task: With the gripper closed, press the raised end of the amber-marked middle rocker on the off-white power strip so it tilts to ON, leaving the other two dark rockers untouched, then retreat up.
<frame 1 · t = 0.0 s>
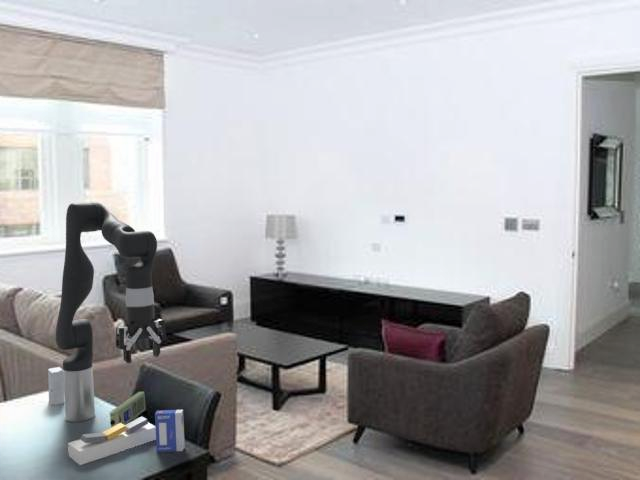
hand: (142, 359, 176), 29 cm above the table, fingers open, 8 cm apart
skincare box: (57, 402, 226), on the table
rocker 2: (114, 431, 185), point 6 cm above the table, hinge at 12.0°
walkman: (170, 450, 185), on the table
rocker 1: (93, 437, 181), point 6 cm above the table, hinge at -12.0°
handheld radio: (124, 424, 206), on the table
rocker 3: (136, 424, 190), point 6 cm above the table, hinge at 12.0°
power strip: (114, 447, 187), on the table
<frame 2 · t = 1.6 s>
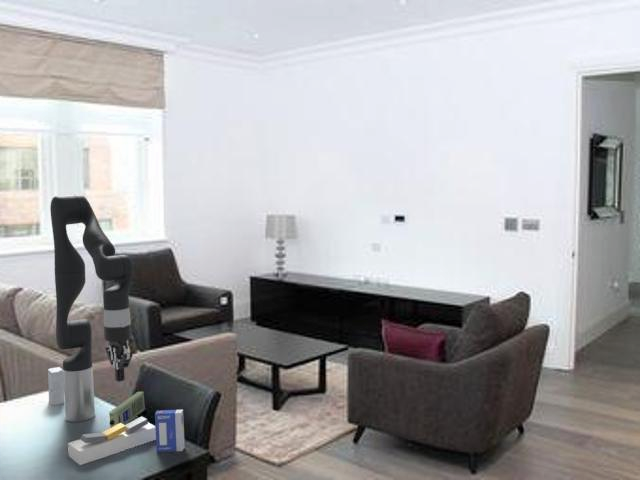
hand: (120, 380, 186), 20 cm above the table, fingers closed
nothing on the table moved.
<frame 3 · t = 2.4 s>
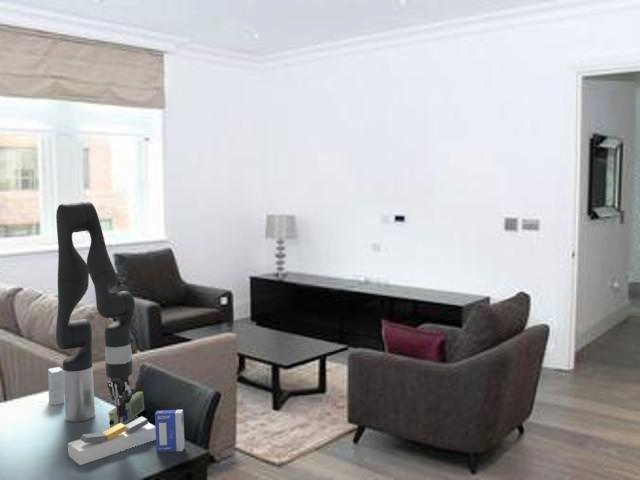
hand: (121, 416, 186), 10 cm above the table, fingers closed
nothing on the table moved.
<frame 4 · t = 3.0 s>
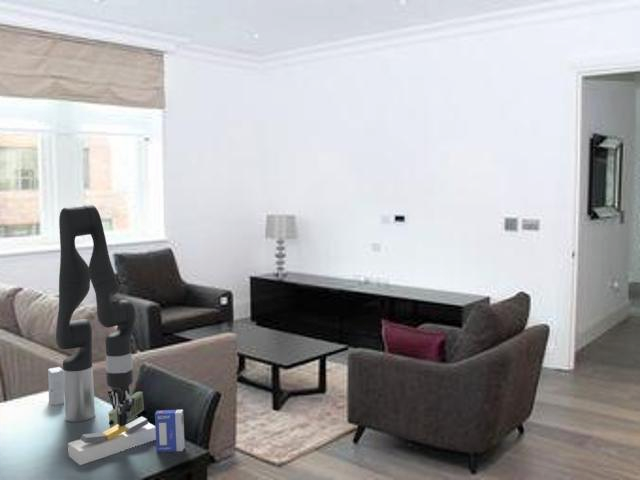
hand: (122, 424, 187), 7 cm above the table, fingers closed
rocker 2: (114, 431, 185), point 6 cm above the table, hinge at 12.0°, touching gripper
everything else where it was.
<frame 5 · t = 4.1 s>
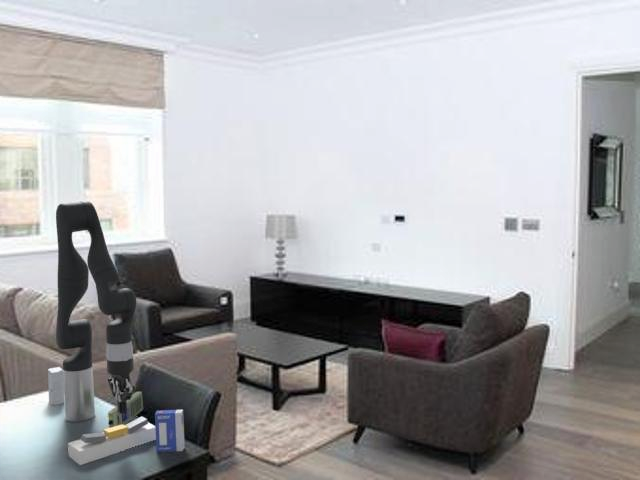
hand: (122, 412, 187), 11 cm above the table, fingers closed
rocker 2: (115, 430, 186), point 6 cm above the table, hinge at -1.7°
everything else where it was.
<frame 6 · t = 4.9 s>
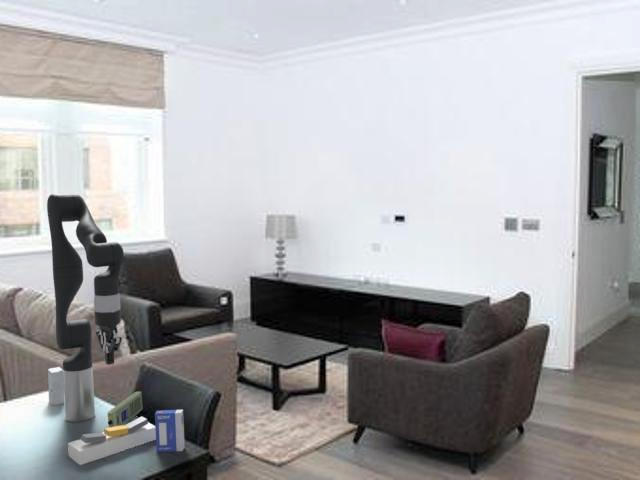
hand: (109, 363, 192), 24 cm above the table, fingers closed
rocker 2: (116, 430, 186), point 6 cm above the table, hinge at -7.5°
everything else where it was.
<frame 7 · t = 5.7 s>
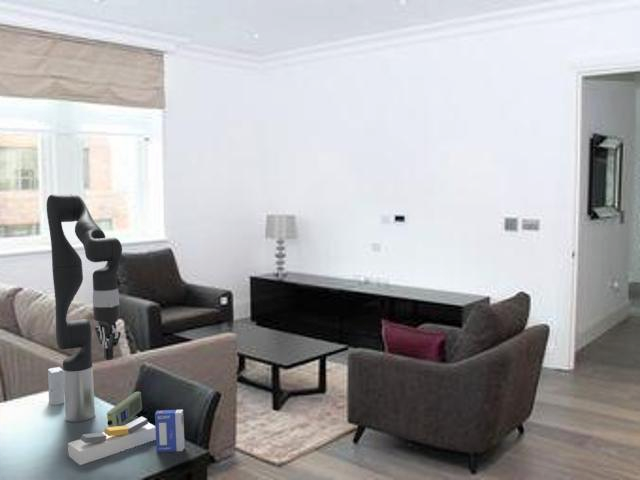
hand: (109, 359, 192), 25 cm above the table, fingers closed
rocker 2: (116, 430, 186), point 6 cm above the table, hinge at -11.3°
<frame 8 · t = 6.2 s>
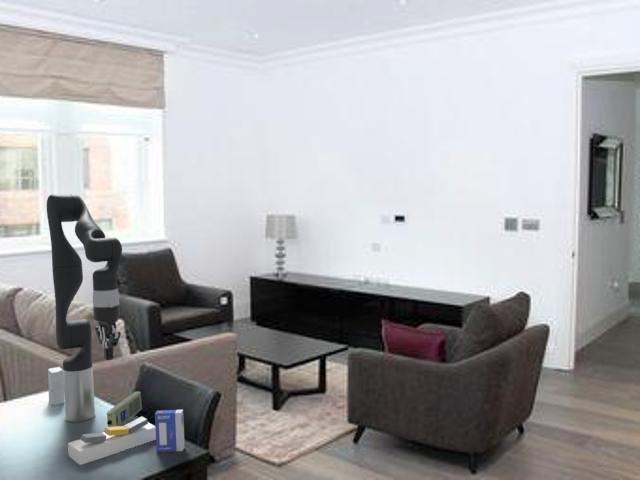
hand: (109, 359, 192), 25 cm above the table, fingers closed
rocker 2: (116, 430, 186), point 6 cm above the table, hinge at -13.0°
at the end: rocker 2 at -14° (first picture: +12°); rocker 3 at +12° (first picture: +12°); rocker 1 at -12° (first picture: -12°) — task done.
